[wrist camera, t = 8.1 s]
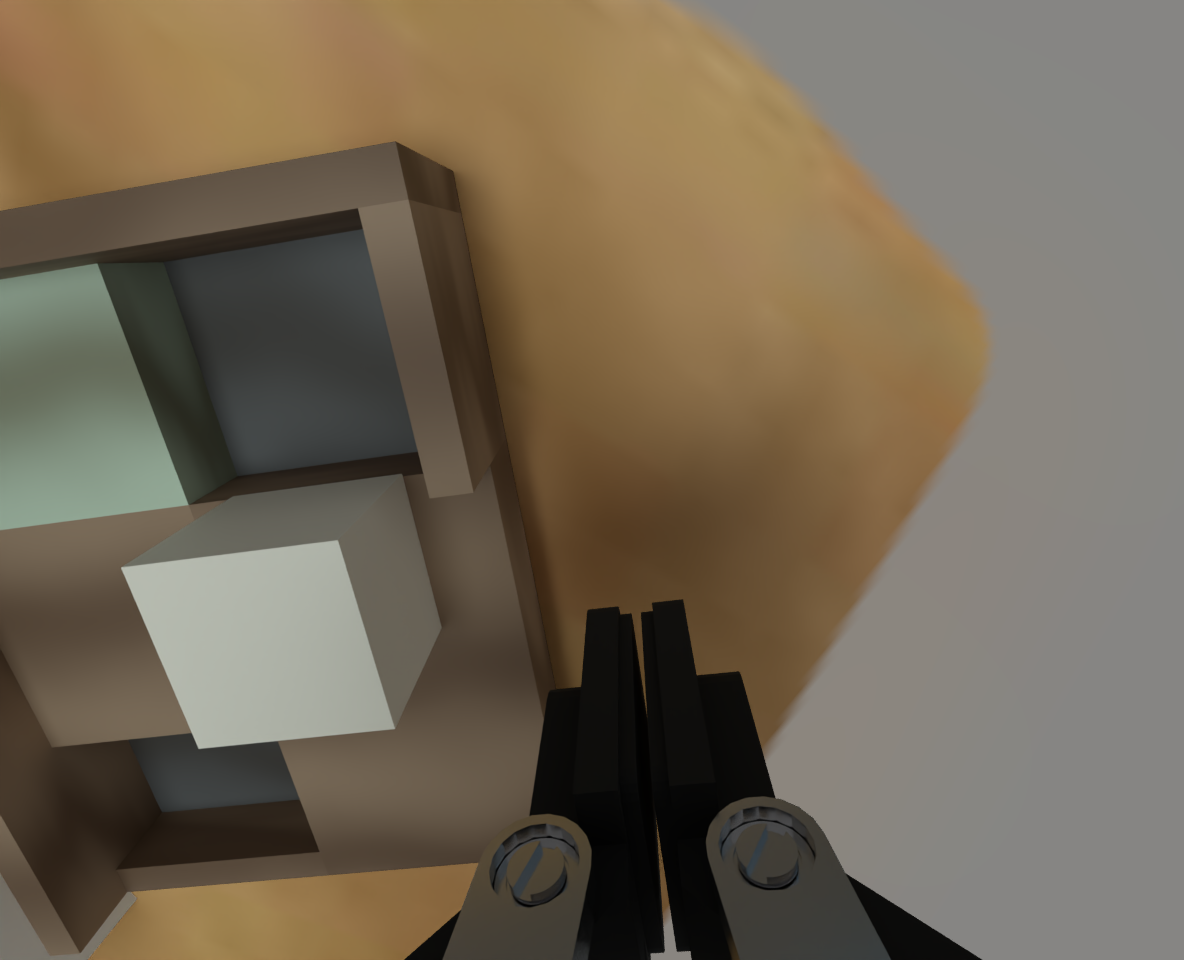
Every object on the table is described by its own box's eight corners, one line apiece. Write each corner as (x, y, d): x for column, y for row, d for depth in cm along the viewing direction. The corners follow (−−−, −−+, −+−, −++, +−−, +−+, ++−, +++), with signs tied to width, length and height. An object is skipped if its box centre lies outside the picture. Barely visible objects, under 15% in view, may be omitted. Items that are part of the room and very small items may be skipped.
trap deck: (576, 792, 23) (567, 916, 18) (150, 831, 24) (50, 955, 20) (452, 171, 16) (395, 141, 12) (-122, 269, 17) (-359, 274, 13)
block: (441, 627, 18) (394, 729, 14) (285, 645, 18) (198, 749, 14) (401, 473, 16) (337, 540, 12) (233, 496, 17) (120, 567, 13)
